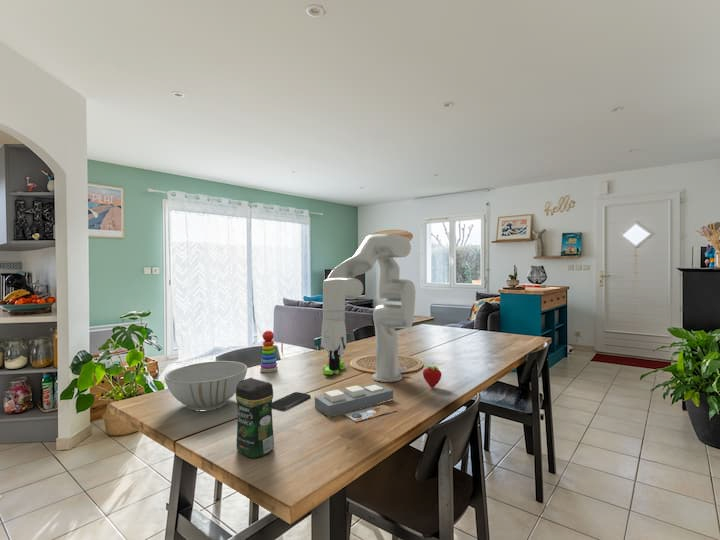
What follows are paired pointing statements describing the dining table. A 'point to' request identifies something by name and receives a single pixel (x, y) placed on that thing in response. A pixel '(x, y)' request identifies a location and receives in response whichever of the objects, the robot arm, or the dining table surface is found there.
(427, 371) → the strawberry
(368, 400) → the button board
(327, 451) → the dining table surface
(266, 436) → the coffee jar
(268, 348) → the stacking toy
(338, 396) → the button
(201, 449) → the dining table surface
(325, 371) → the toy crocodile
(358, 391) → the middle button
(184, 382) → the decorative bowl
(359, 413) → the pattern card
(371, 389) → the button
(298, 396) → the phone
